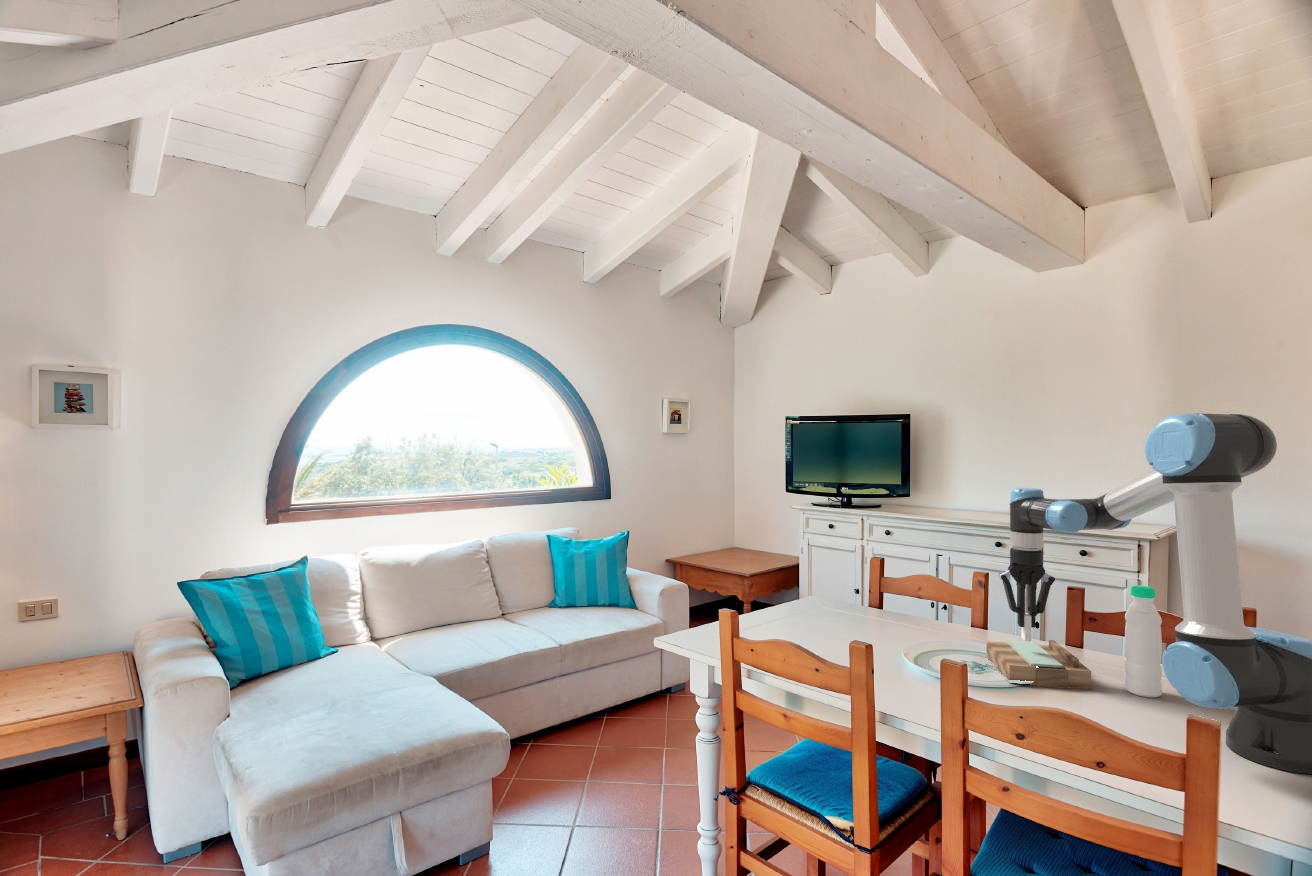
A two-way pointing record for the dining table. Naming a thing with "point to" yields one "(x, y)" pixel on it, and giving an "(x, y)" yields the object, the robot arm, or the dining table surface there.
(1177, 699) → the dining table surface
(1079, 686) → the wooden tray
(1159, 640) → the water bottle
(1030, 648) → the cover
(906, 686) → the dining table surface
